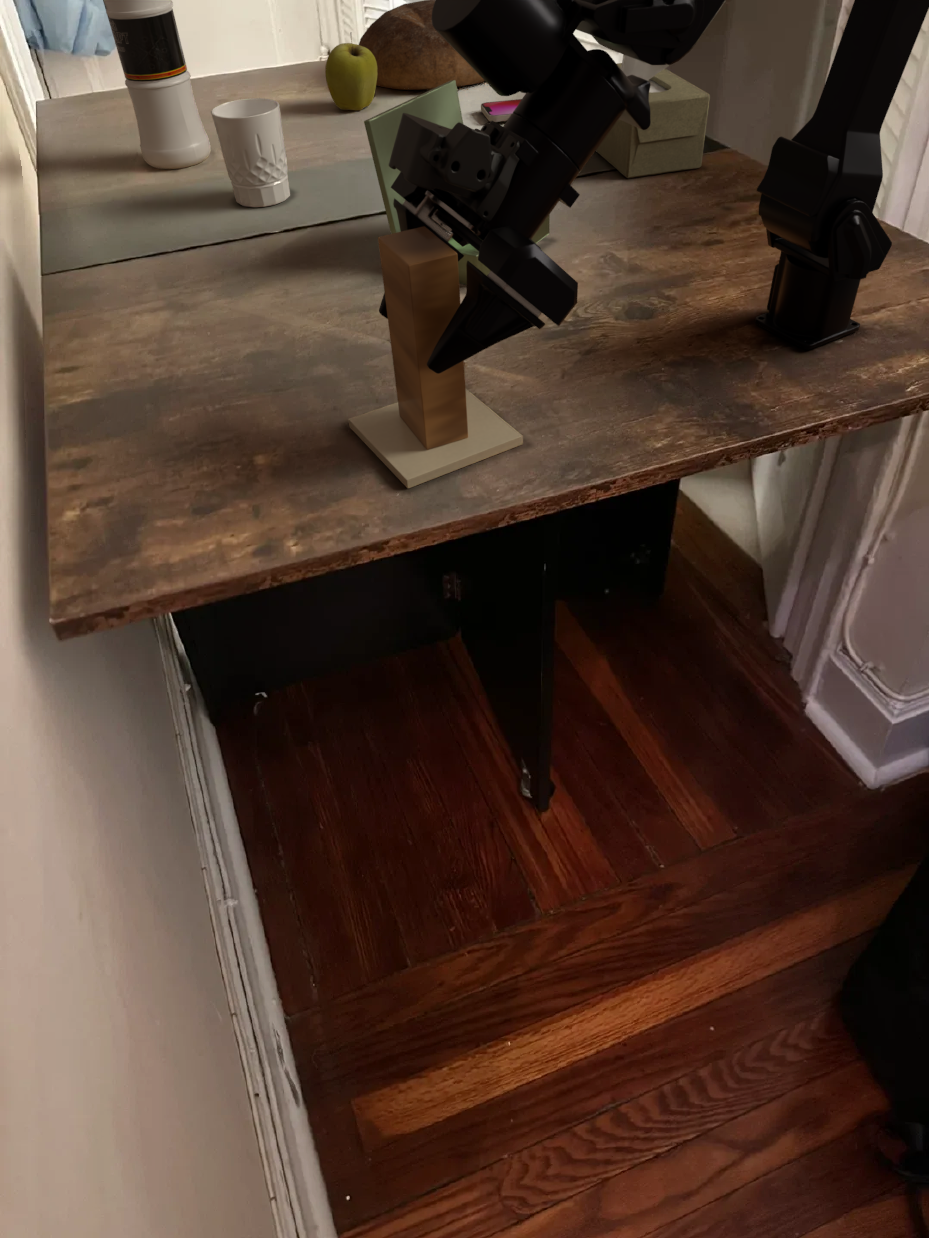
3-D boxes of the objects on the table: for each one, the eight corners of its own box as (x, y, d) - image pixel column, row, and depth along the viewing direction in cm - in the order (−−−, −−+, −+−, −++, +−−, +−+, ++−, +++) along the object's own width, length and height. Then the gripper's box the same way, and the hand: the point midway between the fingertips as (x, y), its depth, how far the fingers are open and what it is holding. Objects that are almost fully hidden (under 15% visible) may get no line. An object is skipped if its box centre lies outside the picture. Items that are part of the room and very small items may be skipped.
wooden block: (439, 404, 70) (424, 225, 60) (468, 437, 67) (458, 253, 57) (399, 416, 69) (377, 236, 59) (426, 450, 66) (408, 265, 56)
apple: (316, 98, 136) (325, 23, 130) (366, 108, 139) (377, 35, 133) (326, 111, 130) (336, 33, 124) (377, 122, 133) (389, 46, 127)
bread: (375, 104, 135) (366, 29, 129) (345, 65, 154) (336, -3, 147) (534, 82, 139) (534, 8, 133) (486, 47, 158) (484, -20, 151)
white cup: (218, 205, 108) (196, 114, 101) (257, 183, 112) (239, 95, 105) (270, 213, 105) (251, 120, 98) (307, 190, 110) (292, 101, 103)
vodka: (202, 170, 118) (130, -122, 96) (136, 172, 118) (49, -116, 97) (220, 147, 124) (156, -130, 103) (157, 150, 125) (80, -125, 104)
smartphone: (592, 106, 125) (489, 116, 124) (592, 114, 126) (489, 124, 124) (578, 93, 130) (479, 103, 129) (577, 100, 131) (479, 110, 130)
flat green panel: (455, 80, 89) (450, 80, 89) (369, 120, 80) (363, 121, 81) (474, 187, 95) (469, 187, 96) (396, 235, 87) (391, 235, 87)
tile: (523, 444, 67) (523, 435, 66) (407, 489, 64) (406, 480, 63) (457, 389, 73) (457, 381, 73) (349, 427, 70) (348, 418, 69)
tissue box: (702, 169, 107) (722, 15, 96) (627, 180, 106) (638, 25, 95) (644, 126, 121) (655, -14, 109) (576, 135, 119) (581, -5, 108)
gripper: (403, 29, 58) (277, 233, 63) (535, 92, 46) (365, 341, 51) (512, 137, 66) (391, 312, 71) (649, 217, 53) (492, 422, 58)
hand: (406, 342), depth 62 cm, fingers open, 9 cm apart
